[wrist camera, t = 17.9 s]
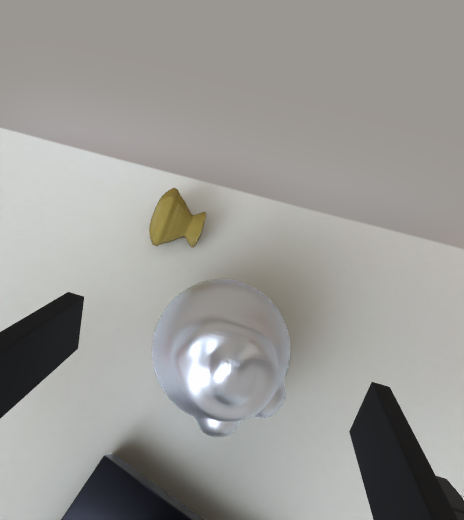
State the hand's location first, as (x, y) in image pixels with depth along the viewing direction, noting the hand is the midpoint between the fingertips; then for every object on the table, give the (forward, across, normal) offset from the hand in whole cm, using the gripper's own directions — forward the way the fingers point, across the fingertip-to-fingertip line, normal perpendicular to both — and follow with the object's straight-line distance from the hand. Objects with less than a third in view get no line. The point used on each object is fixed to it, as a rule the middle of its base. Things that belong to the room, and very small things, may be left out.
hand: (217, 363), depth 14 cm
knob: (+16, -7, +1) cm, 18 cm away
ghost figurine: (+9, 0, -6) cm, 11 cm away
